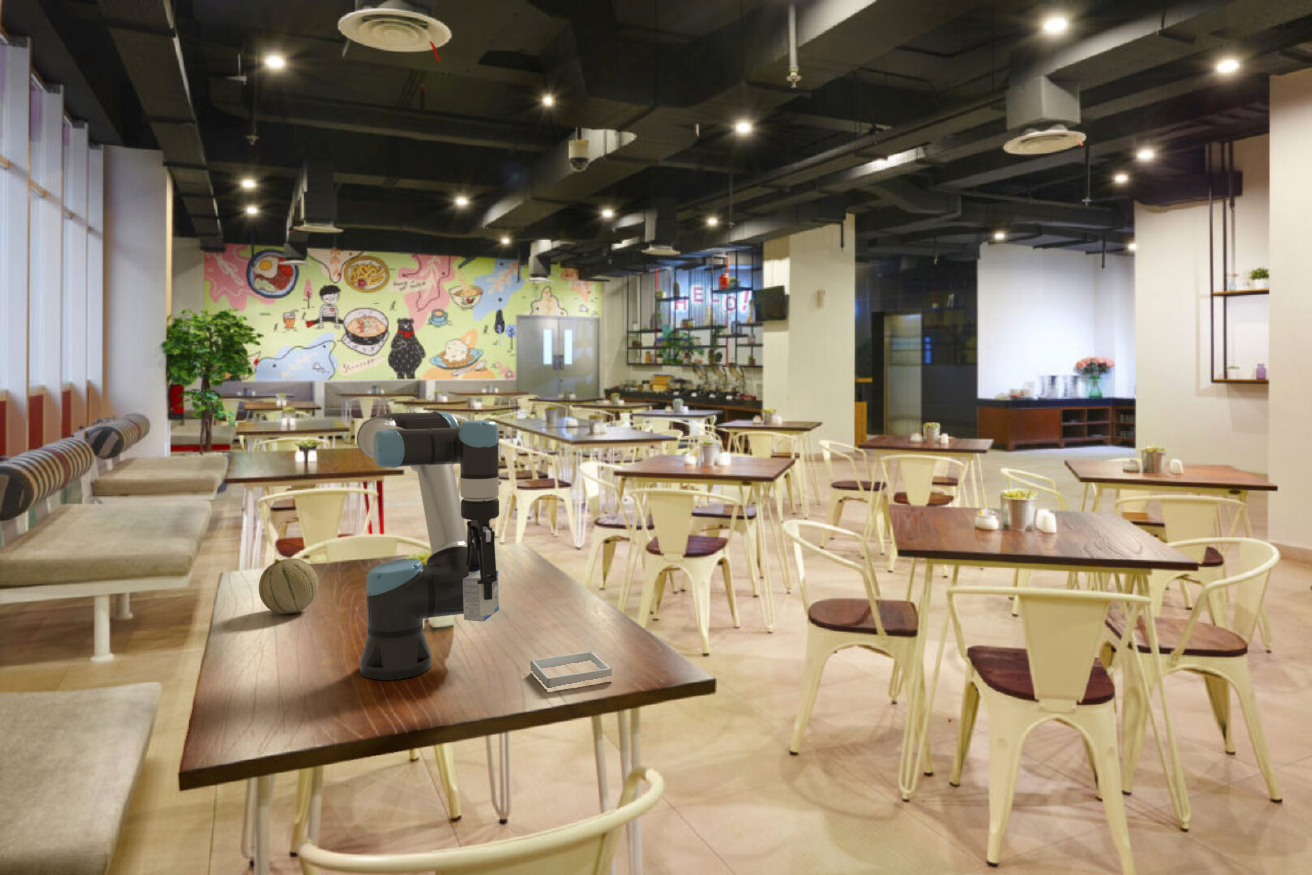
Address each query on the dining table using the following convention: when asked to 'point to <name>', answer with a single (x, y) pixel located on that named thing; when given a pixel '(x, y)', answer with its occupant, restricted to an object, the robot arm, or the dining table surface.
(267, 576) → the cantaloupe
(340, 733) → the dining table surface
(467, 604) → the medicine box
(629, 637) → the dining table surface
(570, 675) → the walled tray
